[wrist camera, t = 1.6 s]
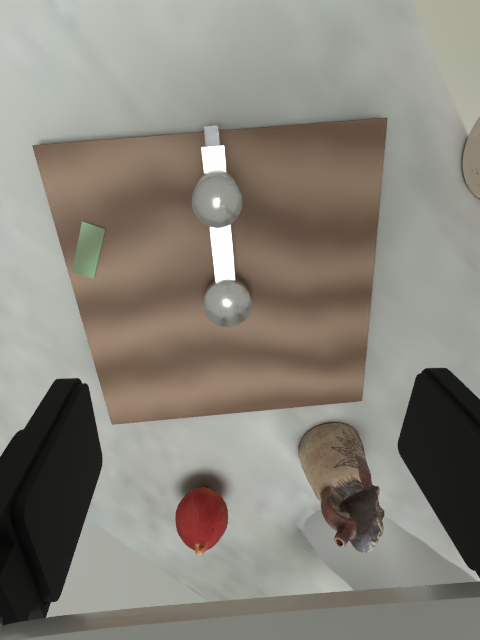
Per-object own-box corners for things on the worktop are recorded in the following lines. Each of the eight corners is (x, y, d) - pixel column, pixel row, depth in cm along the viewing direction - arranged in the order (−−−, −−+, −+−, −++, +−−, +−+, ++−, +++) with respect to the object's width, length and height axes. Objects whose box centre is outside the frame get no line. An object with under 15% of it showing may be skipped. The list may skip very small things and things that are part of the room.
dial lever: (251, 317, 33) (259, 357, 27) (206, 321, 33) (204, 362, 27) (239, 124, 26) (245, 117, 20) (183, 128, 26) (172, 123, 20)
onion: (234, 497, 45) (237, 564, 38) (190, 510, 46) (186, 579, 39) (216, 465, 43) (216, 530, 36) (170, 480, 43) (161, 547, 36)
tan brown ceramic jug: (341, 473, 45) (381, 578, 34) (287, 460, 43) (311, 566, 32) (369, 429, 42) (423, 529, 31) (313, 414, 40) (348, 513, 30)
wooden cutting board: (357, 393, 39) (362, 402, 38) (114, 416, 39) (111, 425, 38) (380, 118, 28) (388, 117, 27) (39, 145, 28) (31, 145, 26)
